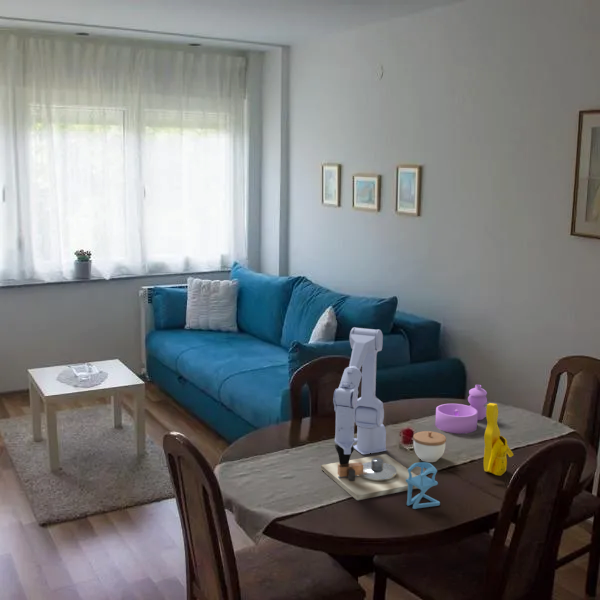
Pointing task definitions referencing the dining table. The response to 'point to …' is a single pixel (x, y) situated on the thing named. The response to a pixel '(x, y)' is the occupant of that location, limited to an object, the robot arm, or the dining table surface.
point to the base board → (369, 488)
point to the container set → (462, 413)
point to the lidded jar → (429, 445)
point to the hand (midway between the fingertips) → (343, 467)
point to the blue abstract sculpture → (421, 485)
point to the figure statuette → (495, 444)
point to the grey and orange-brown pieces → (369, 470)
